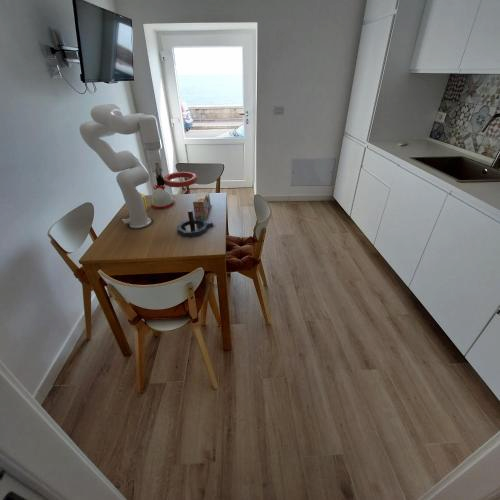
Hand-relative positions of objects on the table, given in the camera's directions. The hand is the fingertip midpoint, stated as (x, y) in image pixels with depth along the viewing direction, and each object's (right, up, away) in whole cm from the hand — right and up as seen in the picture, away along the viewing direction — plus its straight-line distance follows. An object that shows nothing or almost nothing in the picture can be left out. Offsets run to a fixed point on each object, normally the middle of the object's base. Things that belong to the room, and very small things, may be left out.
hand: (160, 184), depth 134 cm
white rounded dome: (-15, -2, +50) cm, 52 cm away
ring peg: (+12, -21, +20) cm, 31 cm away
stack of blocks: (+15, -9, +38) cm, 42 cm away
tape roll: (-28, -6, +44) cm, 52 cm away
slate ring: (+13, -20, +21) cm, 32 cm away
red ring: (+8, +2, +2) cm, 8 cm away
